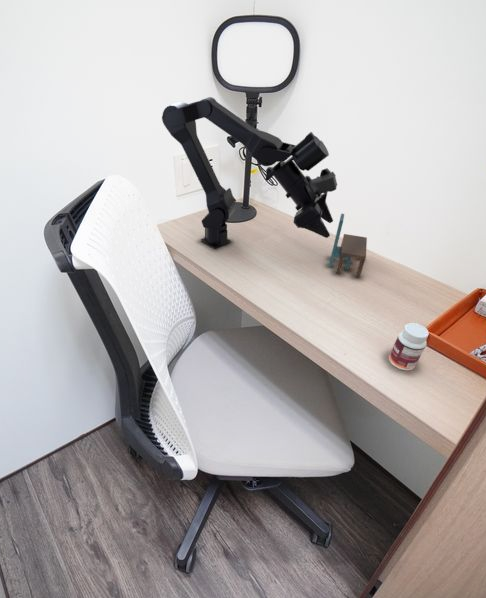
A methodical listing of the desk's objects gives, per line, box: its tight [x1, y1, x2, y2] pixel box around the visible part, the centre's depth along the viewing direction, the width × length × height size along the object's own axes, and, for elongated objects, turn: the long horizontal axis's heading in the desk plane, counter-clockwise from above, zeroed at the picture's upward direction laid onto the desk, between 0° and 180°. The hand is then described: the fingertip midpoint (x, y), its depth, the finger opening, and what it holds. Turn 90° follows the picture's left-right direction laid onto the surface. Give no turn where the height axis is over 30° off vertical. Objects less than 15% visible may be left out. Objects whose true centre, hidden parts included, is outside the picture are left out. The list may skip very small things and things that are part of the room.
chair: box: [328, 213, 352, 271], centre depth 95 cm, size 5×5×14 cm
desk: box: [335, 233, 368, 279], centre depth 96 cm, size 6×11×6 cm, turn 160°
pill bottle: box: [388, 322, 430, 371], centre depth 67 cm, size 5×5×8 cm
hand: (330, 229), depth 94 cm, fingers open, 9 cm apart
